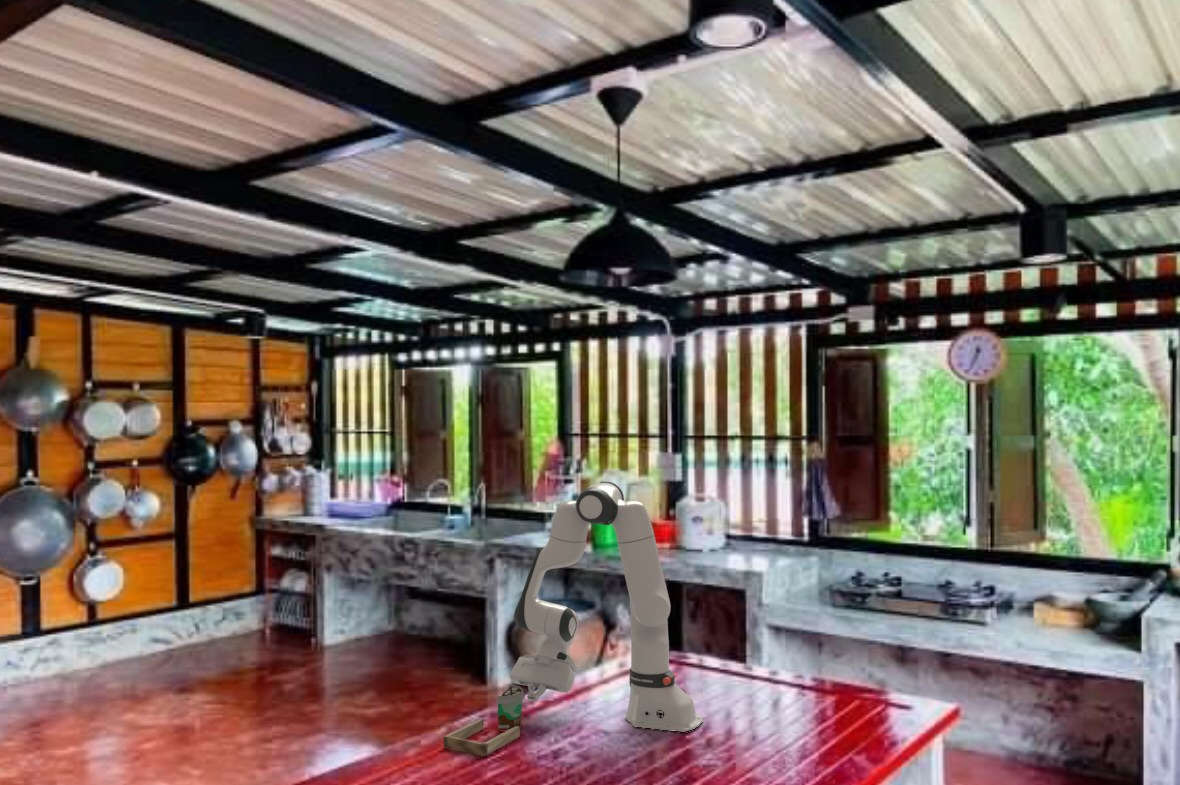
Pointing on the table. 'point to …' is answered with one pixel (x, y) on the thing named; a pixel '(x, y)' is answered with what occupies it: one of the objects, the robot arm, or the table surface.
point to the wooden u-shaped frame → (462, 744)
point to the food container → (510, 707)
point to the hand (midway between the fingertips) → (532, 699)
